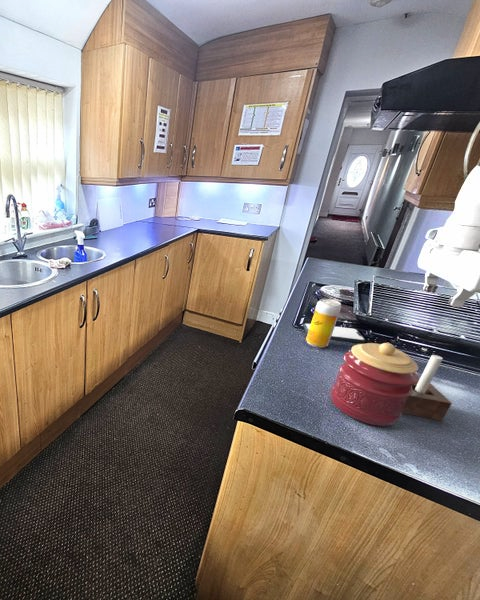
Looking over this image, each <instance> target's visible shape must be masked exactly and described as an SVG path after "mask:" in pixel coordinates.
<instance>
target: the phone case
mask: <svg viewBox="0 0 480 600" xmlns="http://www.w3.org/2000/svg"><path fill="white" fill-rule="evenodd" d="M310 325H311V323H309V322H308V323H307V322H306V323H303V326H302V327H303V329H304V330H305V332H306V334H308V331H309V328H310ZM330 340H334V341H339V342H341V341H342V342H346V343H347V342H348V343H355V344H366V343H365V342H366V338H365V337H364V336H363V335H362V334H361V333H360V332H359V331H358V329H356V328H351V327H345V326H343V327H342V326H335V327H334V330H333V333H332V336H331V339H330Z"/></svg>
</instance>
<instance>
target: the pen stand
mask: <svg viewBox="0 0 480 600" xmlns="http://www.w3.org/2000/svg"><path fill="white" fill-rule="evenodd" d="M417 384H418V382H417V383H416V384H413V385H412V389H413V392H412V394H411V395H410V396H409V398H408V400H407V402H406V404H405V406H404V408H403V410H402V414H406V415H411V416H415V417H419V418H420V417H421V418H426V419H430V420H436V421H441V422H443V420H444V418H445V416H446V414H447V413H448V411H449V410H450V408H451V406H452V404H453V403H452V402H451V401H450V400H449V399H448V398H447V397H446V396H445V395H444V394H443V393H441V391H439V390H438V388H436V387H435V386H434V385H433V384H432V383H430V385H429V387H428V389H427V390H426V392H425V394H421V393H416V392H415V391H414V390H415V388H416V386H417Z"/></svg>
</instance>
